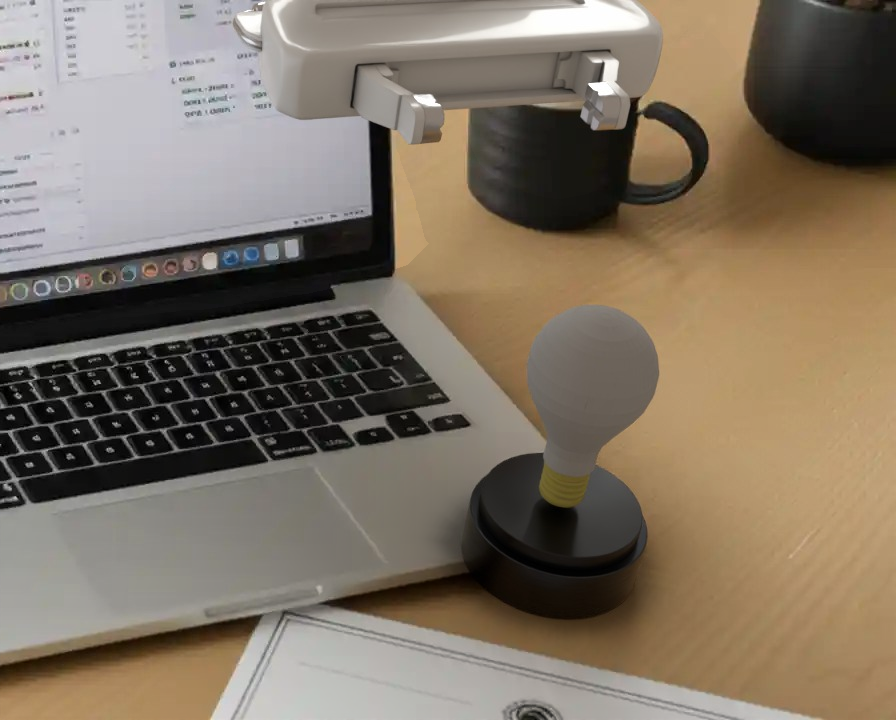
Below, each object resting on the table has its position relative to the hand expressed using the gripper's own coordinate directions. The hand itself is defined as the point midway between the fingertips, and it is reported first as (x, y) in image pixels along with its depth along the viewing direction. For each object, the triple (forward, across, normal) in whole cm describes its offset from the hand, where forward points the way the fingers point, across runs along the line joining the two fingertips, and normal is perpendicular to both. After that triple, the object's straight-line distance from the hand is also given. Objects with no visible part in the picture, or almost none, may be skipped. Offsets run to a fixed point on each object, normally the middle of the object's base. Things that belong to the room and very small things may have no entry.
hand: (523, 123), depth 76 cm
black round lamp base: (+12, -1, +16) cm, 20 cm away
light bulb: (+12, -1, +13) cm, 17 cm away
